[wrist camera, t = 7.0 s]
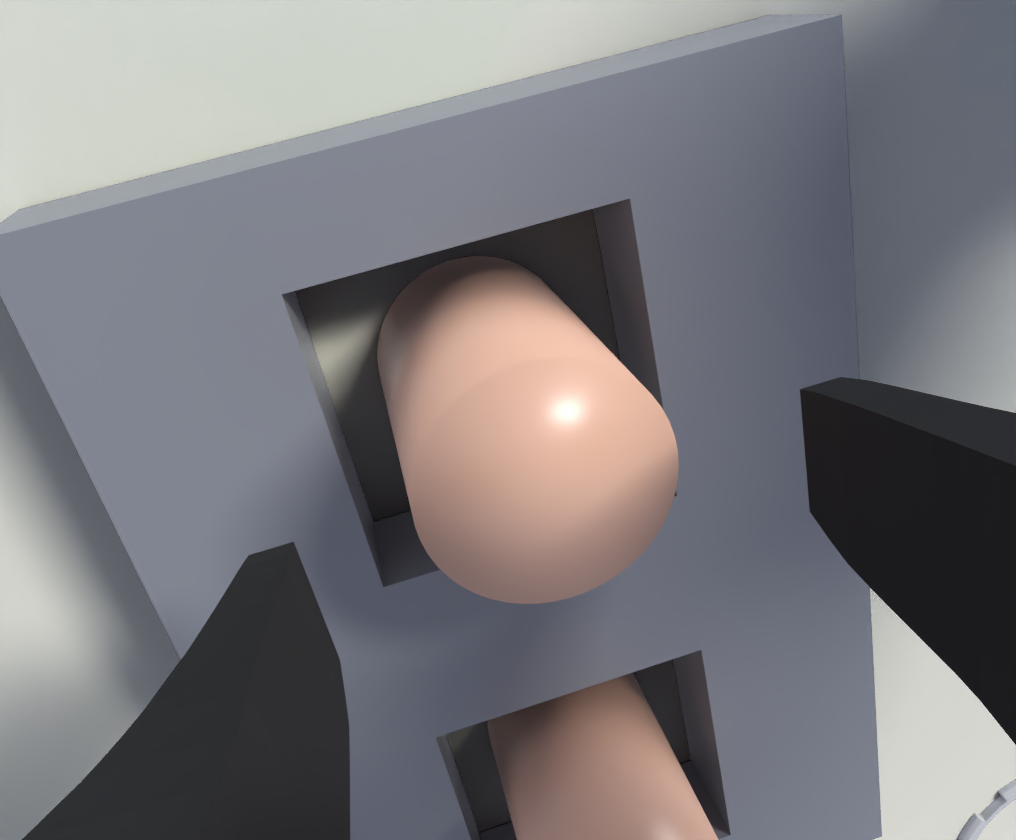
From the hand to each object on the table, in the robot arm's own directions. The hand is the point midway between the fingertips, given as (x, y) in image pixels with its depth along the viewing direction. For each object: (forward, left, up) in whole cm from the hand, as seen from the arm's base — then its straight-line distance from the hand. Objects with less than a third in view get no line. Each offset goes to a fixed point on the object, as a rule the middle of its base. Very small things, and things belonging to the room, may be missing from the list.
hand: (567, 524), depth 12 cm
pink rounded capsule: (0, 0, -7) cm, 7 cm away
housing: (0, +5, -7) cm, 9 cm away
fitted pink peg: (0, +10, -7) cm, 12 cm away
